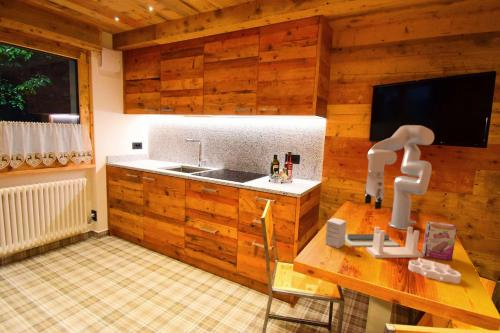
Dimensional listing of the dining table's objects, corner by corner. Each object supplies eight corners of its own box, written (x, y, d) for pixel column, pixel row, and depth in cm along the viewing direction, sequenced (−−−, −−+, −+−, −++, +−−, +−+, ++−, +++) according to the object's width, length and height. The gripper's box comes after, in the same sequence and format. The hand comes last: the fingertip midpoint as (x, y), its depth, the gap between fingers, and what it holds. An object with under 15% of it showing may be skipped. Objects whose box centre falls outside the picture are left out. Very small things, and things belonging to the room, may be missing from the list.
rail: (386, 238, 147) (386, 234, 147) (388, 240, 145) (389, 235, 144) (347, 238, 145) (347, 234, 145) (349, 240, 143) (349, 235, 142)
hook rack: (411, 249, 136) (414, 225, 134) (423, 257, 128) (426, 232, 126) (365, 250, 133) (368, 225, 132) (374, 257, 126) (377, 232, 124)
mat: (383, 235, 153) (383, 234, 153) (399, 246, 139) (399, 244, 139) (339, 235, 151) (339, 234, 150) (350, 246, 137) (350, 245, 137)
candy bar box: (424, 257, 128) (429, 224, 125) (421, 252, 132) (426, 220, 130) (452, 261, 124) (457, 227, 122) (448, 257, 129) (453, 224, 127)
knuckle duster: (458, 272, 115) (461, 289, 103) (409, 260, 125) (407, 274, 113) (459, 265, 115) (462, 281, 103) (410, 253, 124) (408, 266, 112)
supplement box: (331, 240, 144) (333, 217, 142) (345, 244, 139) (347, 221, 137) (324, 243, 139) (326, 220, 137) (338, 248, 134) (340, 224, 132)
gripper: (392, 177, 133) (388, 211, 136) (373, 171, 150) (370, 201, 153) (377, 177, 132) (374, 211, 135) (360, 171, 149) (358, 201, 152)
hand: (372, 206), depth 144 cm, fingers open, 9 cm apart
